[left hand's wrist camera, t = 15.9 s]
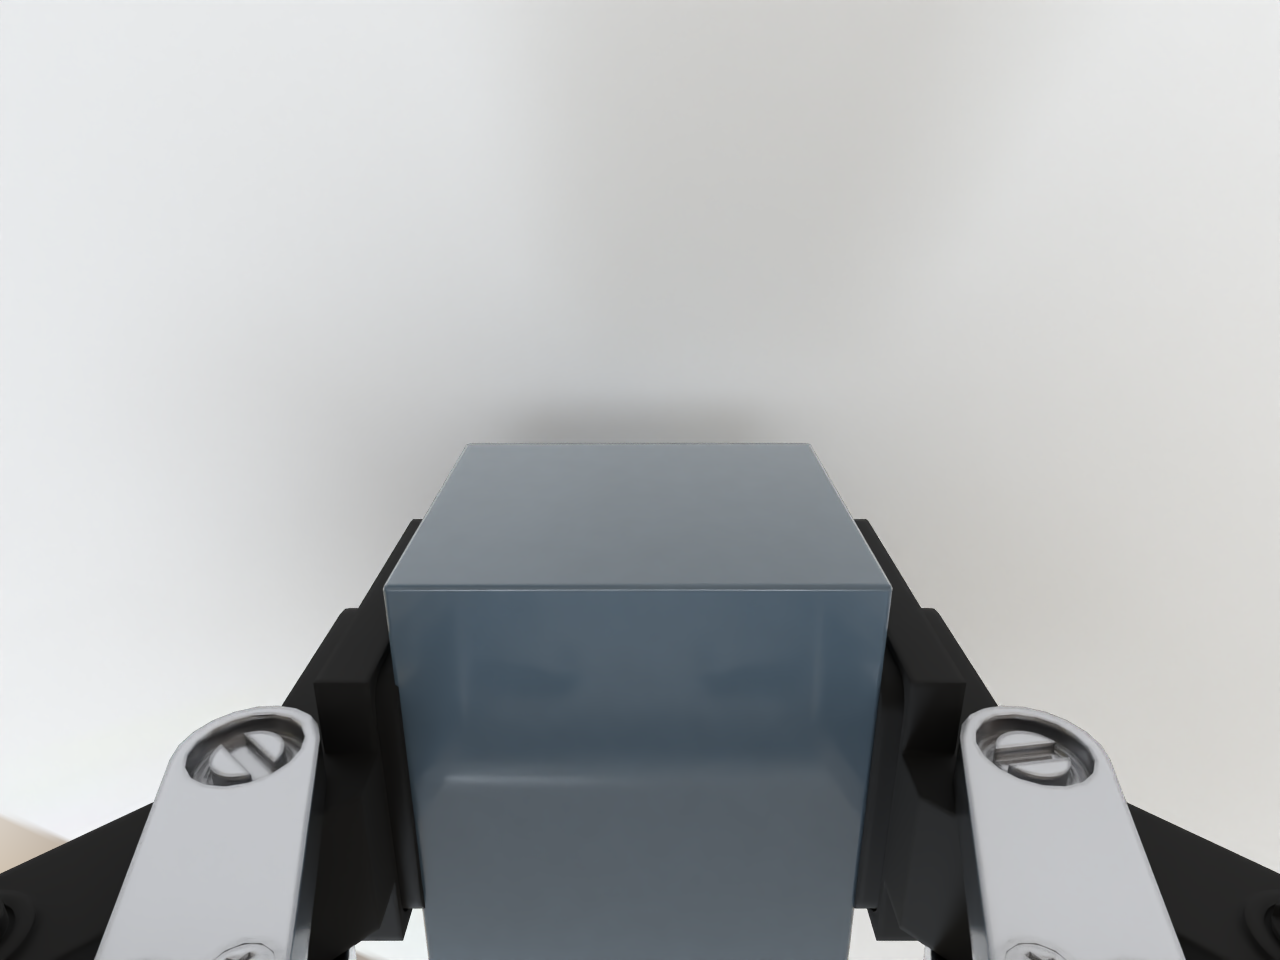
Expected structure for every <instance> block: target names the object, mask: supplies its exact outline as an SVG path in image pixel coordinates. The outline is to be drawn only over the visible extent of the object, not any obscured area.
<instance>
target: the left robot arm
mask: <svg viewBox="0 0 1280 960" xmlns="http://www.w3.org/2000/svg"><path fill="white" fill-rule="evenodd" d="M422 520H423V519H413V520H412V521H411V522H410V524H409V526H408V527H407V529H406V531H405V532H404V534H403V535H402V537H401V539H400V540H399V542H398V544H397V545H396V547H395V549H394V550H393V552H392V554H391V555H390V557H389V559H388V560H387V562H386V563H385V565H384V567H383V568H382V570H381V572H380V573H379V575H378V577H377V578H376V580H375V582H374V583H373V585H372V587H371V588H370V590H369V591H368V593H367V595H366V596H365V598H364V600H363V601H362V603H361V605H360V606H359V608H348V609H345V610H344V611H343V612H342V613H341V614H340V615H339V617H338V618H337V620H336V622H335V623H334V625H333V626H332V628H331V629H330V631H329V633H328V634H327V636H326V637H325V639H324V640H323V642H322V643H321V645H320V647H319V648H318V650H317V651H316V653H315V654H314V656H313V658H312V659H311V661H310V662H309V664H308V665H307V667H306V669H305V670H304V672H303V673H302V675H301V676H300V678H299V680H298V681H297V683H296V684H295V686H294V687H293V689H292V690H291V692H290V694H289V695H288V697H287V698H286V700H285V701H284V703H283V705H282V706H264V707H254V708H250V709H245V710H241V711H237V712H233V713H231V714H228V715H226V716H223V717H220V718H218V719H215V720H213V721H211V722H209V723H208V724H206V725H204V726H203V727H201V728H199V729H198V730H196V731H194V732H193V733H192V734H191V735H190V736H189V737H187V738H186V739H185V740H184V741H183V742H182V743H181V744H180V745H179V746H178V747H177V749H176V750H175V752H174V754H173V755H172V757H171V759H170V760H169V763H168V766H167V768H166V771H165V774H164V776H163V779H162V782H161V784H160V787H159V789H158V792H157V795H156V797H155V800H154V802H153V803H151V804H149V805H146V806H144V807H142V808H140V809H138V810H136V811H134V812H131V813H129V814H127V815H125V816H123V817H121V818H119V819H116V820H114V821H112V822H110V823H108V824H106V825H104V826H101V827H99V828H97V829H95V830H93V831H91V832H89V833H86V834H84V835H82V836H80V837H78V838H76V839H74V840H71V841H69V842H67V843H65V844H63V845H61V846H59V847H57V848H54V849H52V850H50V851H48V852H46V853H44V854H42V855H39V856H37V857H35V858H33V859H31V860H29V861H27V862H24V863H22V864H20V865H18V866H16V867H14V868H12V869H9V870H7V871H5V872H3V873H1V874H0V960H357V958H356V951H355V945H356V944H357V943H359V942H360V941H403V939H404V935H405V932H406V929H407V925H408V922H409V919H410V915H411V912H412V909H413V908H425V902H424V894H423V886H422V877H421V869H420V861H419V852H418V844H417V836H416V828H415V819H414V811H413V803H412V794H411V786H410V778H409V770H408V761H407V753H406V745H405V736H404V728H403V720H402V712H401V703H400V695H399V687H398V686H397V685H395V681H394V674H393V666H392V658H391V650H390V642H389V634H388V625H387V617H386V609H385V601H384V593H383V588H384V585H385V583H386V581H387V580H388V578H389V576H390V575H391V573H392V571H393V570H394V568H395V566H396V564H397V563H398V561H399V559H400V558H401V556H402V554H403V552H404V551H405V549H406V547H407V546H408V544H409V542H410V540H411V539H412V537H413V535H414V534H415V532H416V530H417V528H418V527H419V525H420V523H421V522H422ZM854 521H855V523H856V525H857V526H858V528H859V530H860V532H861V533H862V535H863V537H864V539H865V540H866V542H867V544H868V545H869V547H870V549H871V551H872V552H873V554H874V556H875V558H876V559H877V561H878V563H879V565H880V566H881V568H882V570H883V572H884V573H885V575H886V577H887V579H888V580H889V582H890V584H891V586H892V597H891V605H890V614H889V622H888V631H887V639H886V647H885V656H884V664H883V672H882V680H881V686H880V695H879V703H878V711H877V720H876V728H875V736H874V745H873V753H872V762H871V770H870V778H869V787H868V795H867V803H866V812H865V820H864V828H863V837H862V845H861V854H860V862H859V870H858V879H857V887H856V895H855V904H854V908H867V910H868V913H869V917H870V920H871V923H872V927H873V930H874V933H875V937H876V940H877V941H919V942H921V943H922V944H924V945H925V951H924V958H923V960H1280V874H1279V873H1277V872H1275V871H1272V870H1270V869H1268V868H1266V867H1264V866H1262V865H1260V864H1257V863H1255V862H1253V861H1251V860H1249V859H1247V858H1245V857H1242V856H1240V855H1238V854H1236V853H1234V852H1232V851H1230V850H1227V849H1225V848H1223V847H1221V846H1219V845H1217V844H1215V843H1212V842H1210V841H1208V840H1206V839H1204V838H1202V837H1200V836H1197V835H1195V834H1193V833H1191V832H1189V831H1187V830H1185V829H1182V828H1180V827H1178V826H1176V825H1174V824H1172V823H1170V822H1167V821H1165V820H1163V819H1161V818H1159V817H1157V816H1155V815H1152V814H1150V813H1148V812H1146V811H1144V810H1142V809H1140V808H1138V807H1135V806H1133V805H1131V804H1129V803H1127V802H1126V800H1125V797H1124V795H1123V792H1122V789H1121V787H1120V784H1119V782H1118V779H1117V776H1116V774H1115V771H1114V768H1113V766H1112V763H1111V760H1110V759H1109V757H1108V755H1107V754H1106V752H1105V750H1104V749H1103V747H1102V746H1101V745H1100V744H1099V743H1098V742H1097V741H1096V740H1095V739H1094V738H1093V737H1091V736H1090V735H1089V734H1088V733H1087V732H1086V731H1084V730H1082V729H1081V728H1079V727H1077V726H1076V725H1074V724H1072V723H1071V722H1069V721H1067V720H1065V719H1062V718H1060V717H1057V716H1054V715H1052V714H1049V713H1047V712H1043V711H1039V710H1035V709H1030V708H1026V707H1016V706H998V705H997V704H996V702H995V701H994V699H993V697H992V696H991V694H990V693H989V691H988V690H987V688H986V687H985V685H984V683H983V682H982V680H981V679H980V677H979V676H978V674H977V672H976V671H975V669H974V668H973V666H972V665H971V663H970V661H969V660H968V658H967V657H966V655H965V654H964V652H963V651H962V649H961V647H960V646H959V644H958V643H957V641H956V640H955V638H954V636H953V635H952V633H951V632H950V630H949V629H948V627H947V625H946V624H945V622H944V621H943V619H942V618H941V616H940V614H939V613H938V612H937V611H936V610H935V609H932V608H921V607H920V605H919V604H918V602H917V600H916V599H915V597H914V596H913V594H912V592H911V591H910V589H909V587H908V586H907V584H906V582H905V581H904V579H903V577H902V576H901V574H900V572H899V571H898V569H897V568H896V566H895V564H894V563H893V561H892V559H891V558H890V556H889V554H888V553H887V551H886V549H885V548H884V546H883V544H882V543H881V541H880V540H879V538H878V536H877V535H876V533H875V531H874V530H873V528H872V526H871V525H870V523H869V522H868V521H867V520H866V519H854Z"/></svg>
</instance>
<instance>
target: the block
mask: <svg viewBox="0 0 1280 960" xmlns="http://www.w3.org/2000/svg"><path fill="white" fill-rule="evenodd" d="M383 593H384V601H385V609H386V617H387V625H388V634H389V642H390V650H391V658H392V666H393V674H394V681H395V685H397V686H398V687H399V695H400V703H401V712H402V720H403V728H404V736H405V745H406V753H407V761H408V770H409V778H410V786H411V794H412V803H413V811H414V819H415V828H416V836H417V844H418V852H419V861H420V869H421V877H422V886H423V894H424V902H425V908H422V910H423V918H424V926H425V934H426V943H427V951H428V959H429V960H848V957H849V949H850V940H851V932H852V923H853V915H854V904H855V895H856V887H857V879H858V870H859V862H860V854H861V845H862V837H863V828H864V820H865V812H866V803H867V795H868V787H869V778H870V770H871V762H872V753H873V745H874V736H875V728H876V720H877V711H878V703H879V695H880V686H881V680H882V672H883V664H884V656H885V647H886V639H887V631H888V622H889V614H890V605H891V597H892V586H891V584H890V582H889V580H888V579H887V577H886V575H885V573H884V572H883V570H882V568H881V566H880V565H879V563H878V561H877V559H876V558H875V556H874V554H873V552H872V551H871V549H870V547H869V545H868V544H867V542H866V540H865V539H864V537H863V535H862V533H861V532H860V530H859V528H858V526H857V525H856V523H855V521H854V519H853V518H852V516H851V514H850V512H849V511H848V509H847V507H846V505H845V504H844V502H843V500H842V498H841V497H840V495H839V493H838V491H837V490H836V488H835V486H834V485H833V483H832V481H831V479H830V478H829V476H828V474H827V472H826V471H825V469H824V467H823V465H822V464H821V462H820V460H819V458H818V457H817V455H816V453H815V451H814V450H813V448H812V446H811V445H810V444H808V443H651V444H467V445H466V446H465V448H464V450H463V451H462V453H461V455H460V457H459V458H458V460H457V462H456V463H455V465H454V467H453V469H452V470H451V472H450V474H449V475H448V477H447V479H446V481H445V482H444V484H443V486H442V487H441V489H440V491H439V493H438V494H437V496H436V498H435V499H434V501H433V503H432V505H431V506H430V508H429V510H428V511H427V513H426V515H425V516H424V518H423V520H422V522H421V523H420V525H419V527H418V528H417V530H416V532H415V534H414V535H413V537H412V539H411V540H410V542H409V544H408V546H407V547H406V549H405V551H404V552H403V554H402V556H401V558H400V559H399V561H398V563H397V564H396V566H395V568H394V570H393V571H392V573H391V575H390V576H389V578H388V580H387V581H386V583H385V585H384V588H383Z"/></svg>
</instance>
